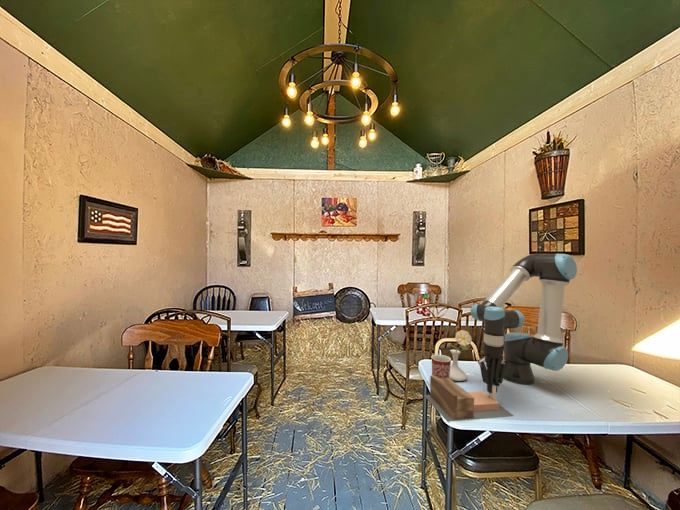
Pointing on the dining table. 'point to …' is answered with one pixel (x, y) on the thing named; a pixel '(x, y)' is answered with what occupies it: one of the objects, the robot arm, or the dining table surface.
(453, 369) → the flower in vase
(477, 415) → the mat
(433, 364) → the mug
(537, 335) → the robot arm
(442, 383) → the grooved wooden block
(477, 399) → the tile
